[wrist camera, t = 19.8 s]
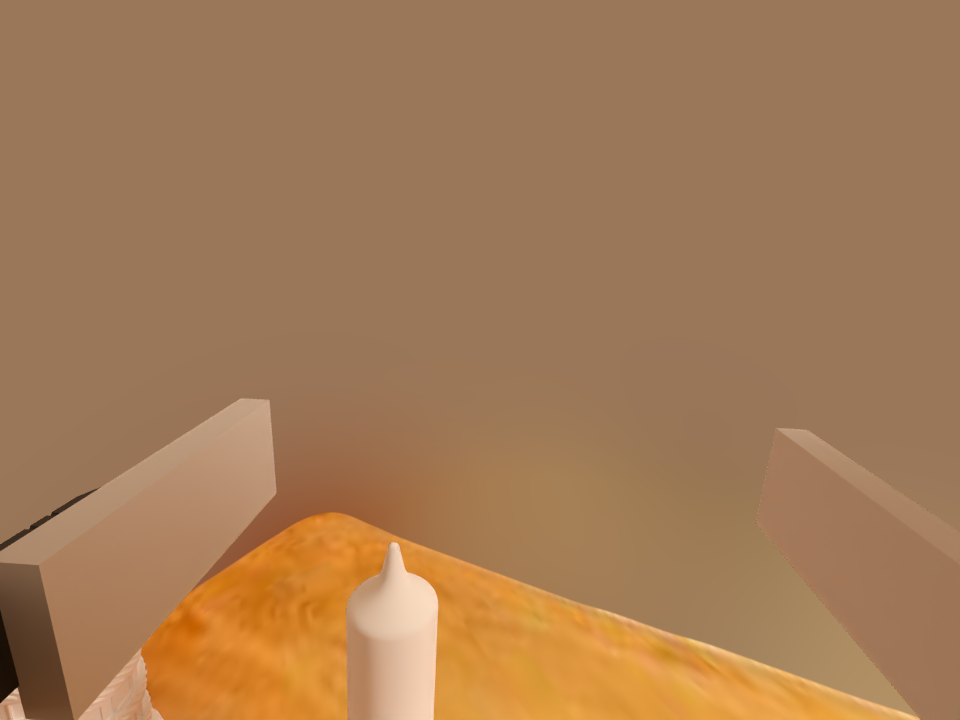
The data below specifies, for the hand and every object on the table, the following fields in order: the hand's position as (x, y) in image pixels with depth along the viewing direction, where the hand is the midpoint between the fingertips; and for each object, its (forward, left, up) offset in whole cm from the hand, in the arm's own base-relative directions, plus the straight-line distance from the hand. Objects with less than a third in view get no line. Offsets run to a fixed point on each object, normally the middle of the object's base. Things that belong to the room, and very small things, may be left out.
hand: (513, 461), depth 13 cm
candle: (+9, -3, -34) cm, 36 cm away
